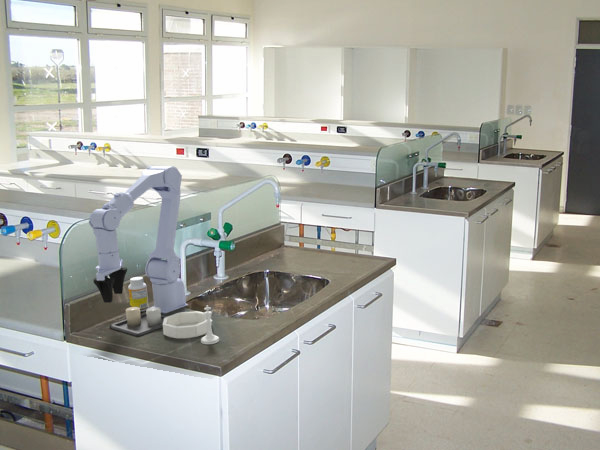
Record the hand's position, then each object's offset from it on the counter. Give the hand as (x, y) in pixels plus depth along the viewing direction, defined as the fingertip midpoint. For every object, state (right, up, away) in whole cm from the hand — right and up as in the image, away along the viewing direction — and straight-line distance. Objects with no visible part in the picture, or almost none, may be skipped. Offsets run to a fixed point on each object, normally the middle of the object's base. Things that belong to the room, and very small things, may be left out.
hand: (113, 297), depth 202 cm
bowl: (+22, -9, -2) cm, 24 cm away
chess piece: (+29, -11, -11) cm, 33 cm away
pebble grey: (+11, -8, +4) cm, 14 cm away
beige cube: (+5, -8, +5) cm, 11 cm away
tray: (+8, -9, +4) cm, 12 cm away
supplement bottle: (+3, -6, +18) cm, 20 cm away
